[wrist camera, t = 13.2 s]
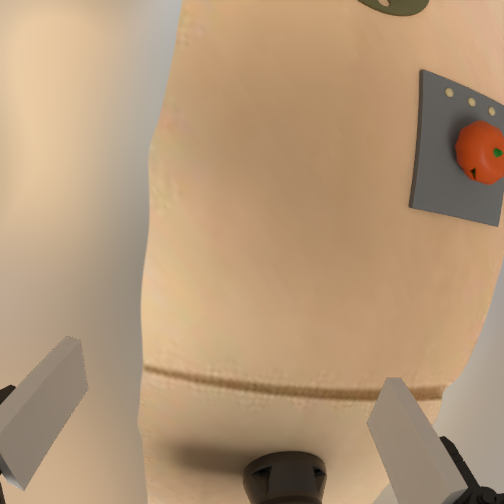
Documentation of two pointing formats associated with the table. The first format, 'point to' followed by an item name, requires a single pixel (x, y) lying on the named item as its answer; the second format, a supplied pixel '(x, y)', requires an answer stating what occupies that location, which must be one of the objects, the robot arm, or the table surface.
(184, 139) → the table surface
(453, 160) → the mat
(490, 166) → the pumpkin
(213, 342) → the table surface
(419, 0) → the flange
